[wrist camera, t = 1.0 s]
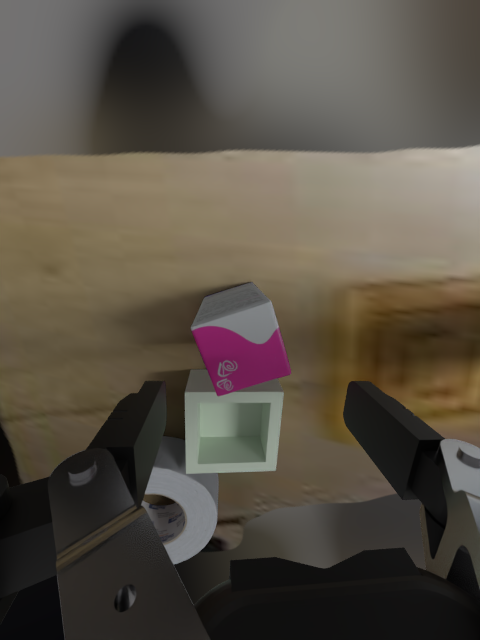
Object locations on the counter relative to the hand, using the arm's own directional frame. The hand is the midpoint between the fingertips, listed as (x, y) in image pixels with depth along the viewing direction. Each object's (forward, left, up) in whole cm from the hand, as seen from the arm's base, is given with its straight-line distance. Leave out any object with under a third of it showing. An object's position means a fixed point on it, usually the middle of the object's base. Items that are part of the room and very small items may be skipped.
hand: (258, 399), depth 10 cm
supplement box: (0, 0, -17) cm, 17 cm away
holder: (0, +12, -17) cm, 21 cm away
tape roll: (+9, +24, -18) cm, 31 cm away
